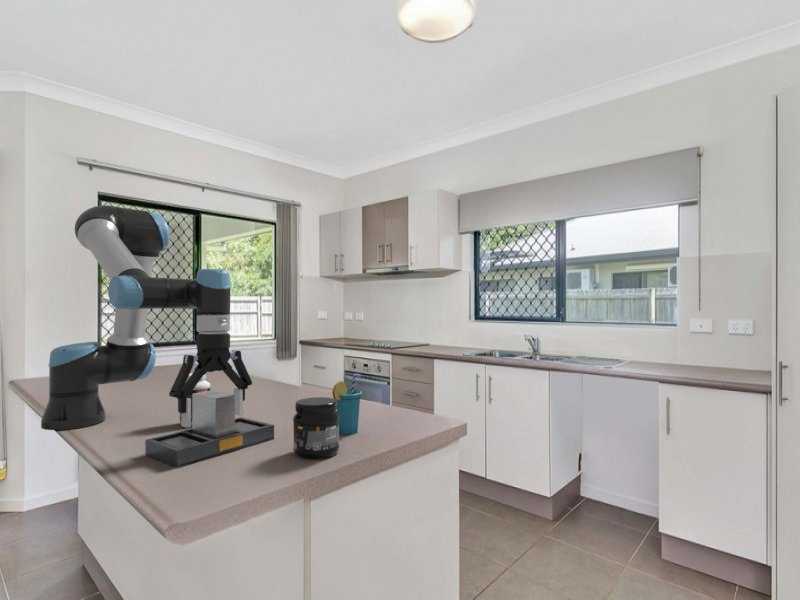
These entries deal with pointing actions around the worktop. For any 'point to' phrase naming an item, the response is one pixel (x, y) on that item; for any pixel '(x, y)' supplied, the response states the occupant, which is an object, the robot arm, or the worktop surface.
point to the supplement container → (316, 428)
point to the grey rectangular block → (213, 414)
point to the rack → (206, 443)
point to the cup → (347, 406)
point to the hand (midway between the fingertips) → (213, 420)
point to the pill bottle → (198, 390)
